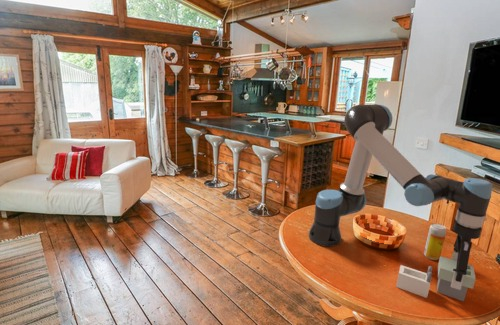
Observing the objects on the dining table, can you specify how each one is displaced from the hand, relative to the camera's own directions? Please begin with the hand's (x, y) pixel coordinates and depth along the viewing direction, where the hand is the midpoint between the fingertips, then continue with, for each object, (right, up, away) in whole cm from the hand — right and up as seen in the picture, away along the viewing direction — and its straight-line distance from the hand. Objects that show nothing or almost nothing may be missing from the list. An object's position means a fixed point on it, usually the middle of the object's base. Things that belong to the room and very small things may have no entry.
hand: (454, 277), depth 103 cm
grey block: (0, 0, 0) cm, 0 cm away
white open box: (-13, -5, +4) cm, 15 cm away
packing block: (0, -6, +2) cm, 7 cm away
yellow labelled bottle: (+7, -1, +24) cm, 25 cm away
